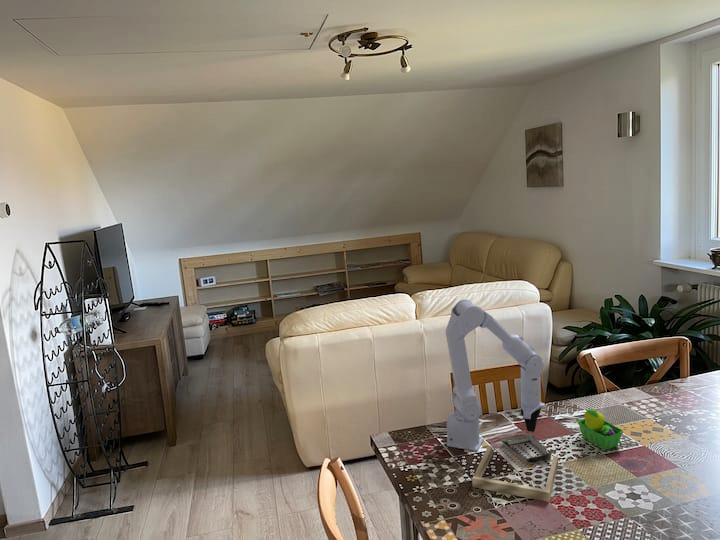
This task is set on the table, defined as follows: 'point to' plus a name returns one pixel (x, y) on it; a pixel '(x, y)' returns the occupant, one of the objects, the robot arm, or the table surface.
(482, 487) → the frame
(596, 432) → the fruit basket
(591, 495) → the table surface
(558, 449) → the table surface
